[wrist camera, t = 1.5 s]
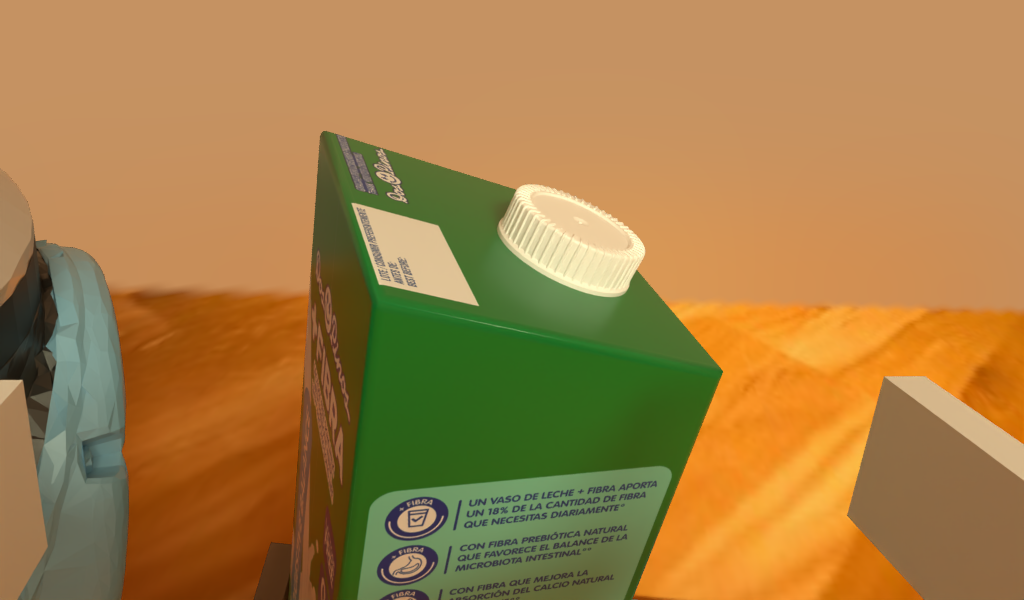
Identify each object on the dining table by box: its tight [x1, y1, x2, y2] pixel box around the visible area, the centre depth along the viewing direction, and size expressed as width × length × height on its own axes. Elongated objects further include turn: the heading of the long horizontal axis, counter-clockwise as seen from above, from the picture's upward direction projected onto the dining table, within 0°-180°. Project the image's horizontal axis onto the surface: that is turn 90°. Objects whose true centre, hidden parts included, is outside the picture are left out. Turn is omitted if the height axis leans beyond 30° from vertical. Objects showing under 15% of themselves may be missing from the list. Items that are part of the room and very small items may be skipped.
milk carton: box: [288, 131, 723, 600], centre depth 27 cm, size 9×9×25 cm
